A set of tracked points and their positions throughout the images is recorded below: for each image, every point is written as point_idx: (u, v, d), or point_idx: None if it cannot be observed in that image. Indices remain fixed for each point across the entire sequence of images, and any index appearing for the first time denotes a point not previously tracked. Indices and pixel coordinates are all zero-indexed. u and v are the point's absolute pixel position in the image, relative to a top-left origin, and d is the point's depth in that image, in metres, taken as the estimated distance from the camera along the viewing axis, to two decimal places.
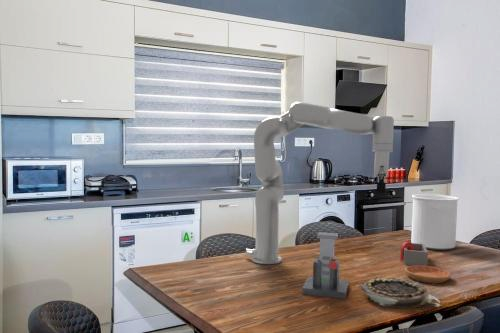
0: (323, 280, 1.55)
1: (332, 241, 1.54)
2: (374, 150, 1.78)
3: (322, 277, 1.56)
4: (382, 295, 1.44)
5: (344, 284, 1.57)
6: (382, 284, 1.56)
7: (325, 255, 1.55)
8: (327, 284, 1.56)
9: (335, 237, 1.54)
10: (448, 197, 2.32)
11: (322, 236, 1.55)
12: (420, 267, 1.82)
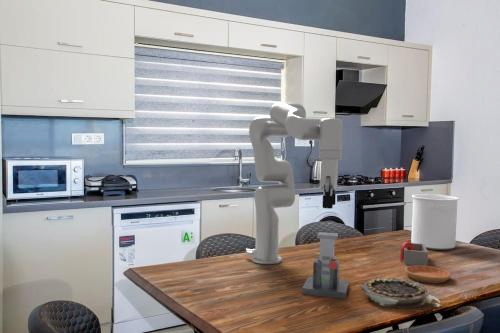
0: (323, 280, 1.55)
1: (332, 241, 1.54)
2: (320, 158, 1.54)
3: (322, 277, 1.56)
4: (382, 295, 1.44)
5: (344, 284, 1.57)
6: (382, 284, 1.56)
7: (325, 255, 1.55)
8: (327, 284, 1.56)
9: (335, 237, 1.54)
10: (448, 197, 2.32)
11: (322, 236, 1.55)
12: (420, 267, 1.82)
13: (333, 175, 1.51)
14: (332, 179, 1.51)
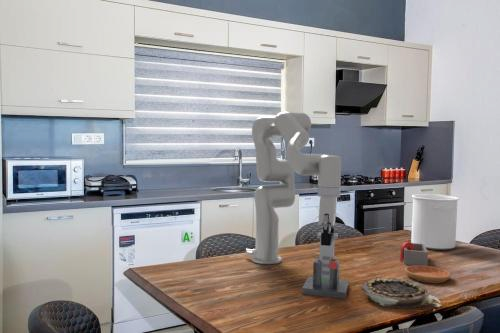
0: (323, 280, 1.55)
1: (332, 241, 1.54)
2: (319, 194, 1.55)
3: (322, 277, 1.56)
4: (382, 295, 1.44)
5: (344, 284, 1.57)
6: (382, 284, 1.56)
7: (325, 255, 1.55)
8: (327, 284, 1.56)
9: (335, 237, 1.54)
10: (448, 197, 2.32)
11: None
12: (420, 267, 1.82)
13: (331, 213, 1.51)
14: (330, 217, 1.51)
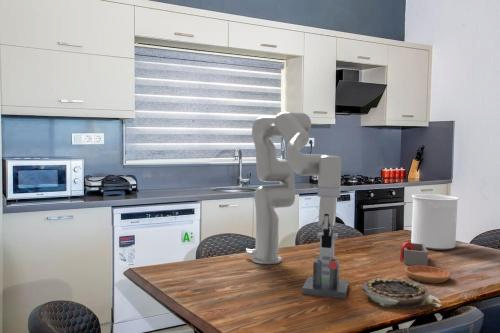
0: (323, 280, 1.55)
1: (332, 241, 1.54)
2: (319, 195, 1.55)
3: (322, 277, 1.56)
4: (383, 295, 1.43)
5: (344, 284, 1.57)
6: (382, 284, 1.56)
7: (325, 255, 1.55)
8: (327, 284, 1.56)
9: (335, 237, 1.54)
10: (448, 197, 2.32)
11: None
12: (420, 267, 1.82)
13: (331, 213, 1.51)
14: (330, 217, 1.51)
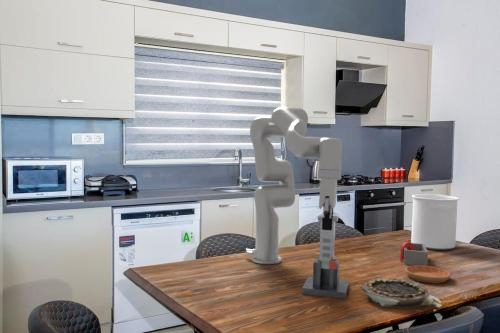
0: (324, 263, 1.55)
1: (333, 223, 1.54)
2: (320, 177, 1.54)
3: (323, 260, 1.56)
4: (383, 295, 1.43)
5: (344, 284, 1.57)
6: (383, 284, 1.55)
7: (326, 238, 1.55)
8: (328, 267, 1.55)
9: (336, 219, 1.54)
10: (448, 197, 2.32)
11: None
12: (420, 267, 1.82)
13: (332, 195, 1.51)
14: (331, 199, 1.51)
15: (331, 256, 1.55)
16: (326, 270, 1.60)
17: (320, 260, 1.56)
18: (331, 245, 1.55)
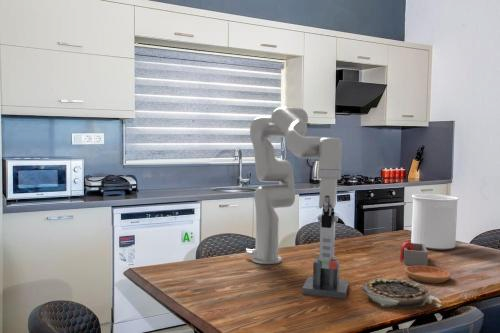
0: (324, 262, 1.55)
1: (333, 223, 1.54)
2: (320, 177, 1.54)
3: (323, 259, 1.56)
4: (383, 296, 1.43)
5: (344, 284, 1.57)
6: (383, 285, 1.55)
7: (326, 237, 1.55)
8: (328, 266, 1.55)
9: (336, 219, 1.54)
10: (448, 197, 2.32)
11: None
12: (420, 267, 1.82)
13: (332, 195, 1.51)
14: (331, 199, 1.51)
15: (331, 256, 1.55)
16: (326, 270, 1.60)
17: (320, 260, 1.56)
18: (331, 245, 1.55)
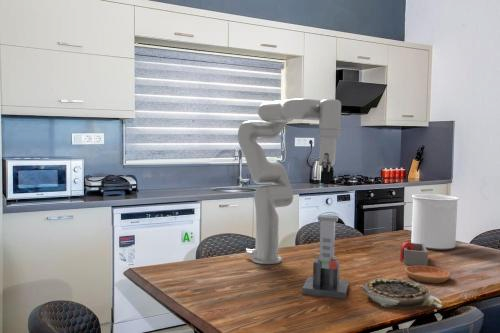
0: (324, 262, 1.55)
1: (333, 223, 1.54)
2: (320, 136, 1.65)
3: (323, 259, 1.56)
4: (383, 296, 1.43)
5: (344, 284, 1.57)
6: (383, 285, 1.55)
7: (326, 237, 1.55)
8: (328, 266, 1.55)
9: (336, 219, 1.54)
10: (448, 197, 2.32)
11: (323, 218, 1.55)
12: (420, 267, 1.82)
13: (331, 152, 1.61)
14: (330, 156, 1.61)
15: (331, 256, 1.55)
16: (326, 270, 1.60)
17: (320, 260, 1.56)
18: (331, 245, 1.55)
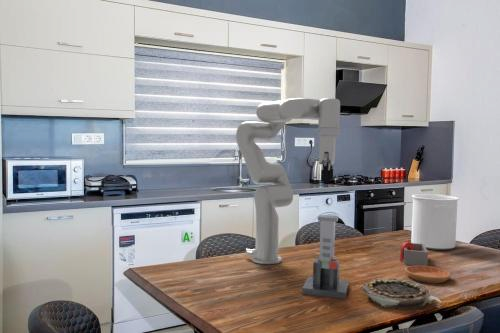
0: (324, 262, 1.55)
1: (333, 223, 1.54)
2: (319, 135, 1.66)
3: (323, 259, 1.56)
4: (384, 296, 1.43)
5: (344, 284, 1.57)
6: (383, 285, 1.55)
7: (326, 237, 1.55)
8: (328, 266, 1.55)
9: (336, 219, 1.54)
10: (448, 197, 2.32)
11: (323, 218, 1.55)
12: (420, 267, 1.82)
13: (331, 151, 1.62)
14: (330, 154, 1.62)
15: (331, 256, 1.55)
16: (326, 270, 1.60)
17: (320, 260, 1.56)
18: (331, 245, 1.55)
